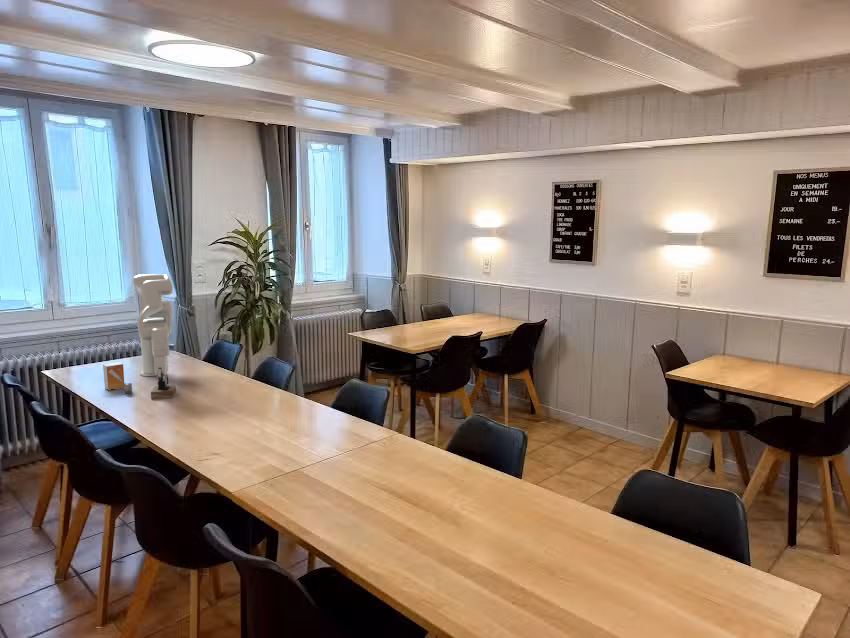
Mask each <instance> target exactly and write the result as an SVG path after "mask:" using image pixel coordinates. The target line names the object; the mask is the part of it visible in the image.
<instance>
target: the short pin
mask: <svg viewBox="0 0 850 638" xmlns="http://www.w3.org/2000/svg"><path fill="white" fill-rule="evenodd" d="M124 383H125V384H124V388H123V390H124V391H123V392H124V393H125V394H124V395H126V394H128V395H132V394H133V384H132V383H131V382H124ZM131 393H132V394H131Z"/></svg>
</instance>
